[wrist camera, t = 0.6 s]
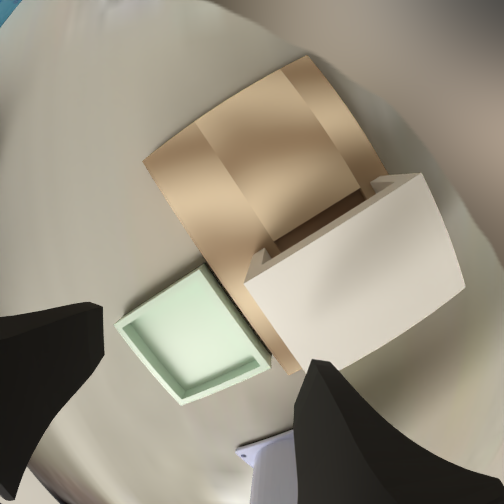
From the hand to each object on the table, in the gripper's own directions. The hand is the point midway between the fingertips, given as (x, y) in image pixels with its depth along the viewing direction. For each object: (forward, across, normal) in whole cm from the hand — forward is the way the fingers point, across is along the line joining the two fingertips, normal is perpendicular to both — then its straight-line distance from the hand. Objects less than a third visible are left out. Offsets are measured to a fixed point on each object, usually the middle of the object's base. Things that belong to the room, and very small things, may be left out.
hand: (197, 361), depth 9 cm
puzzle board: (+10, -3, -4) cm, 11 cm away
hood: (+9, -6, -3) cm, 11 cm away
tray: (+10, +2, +5) cm, 11 cm away
